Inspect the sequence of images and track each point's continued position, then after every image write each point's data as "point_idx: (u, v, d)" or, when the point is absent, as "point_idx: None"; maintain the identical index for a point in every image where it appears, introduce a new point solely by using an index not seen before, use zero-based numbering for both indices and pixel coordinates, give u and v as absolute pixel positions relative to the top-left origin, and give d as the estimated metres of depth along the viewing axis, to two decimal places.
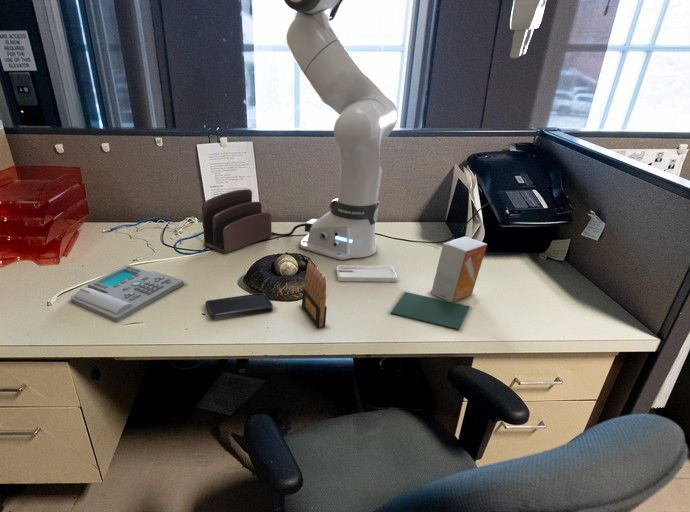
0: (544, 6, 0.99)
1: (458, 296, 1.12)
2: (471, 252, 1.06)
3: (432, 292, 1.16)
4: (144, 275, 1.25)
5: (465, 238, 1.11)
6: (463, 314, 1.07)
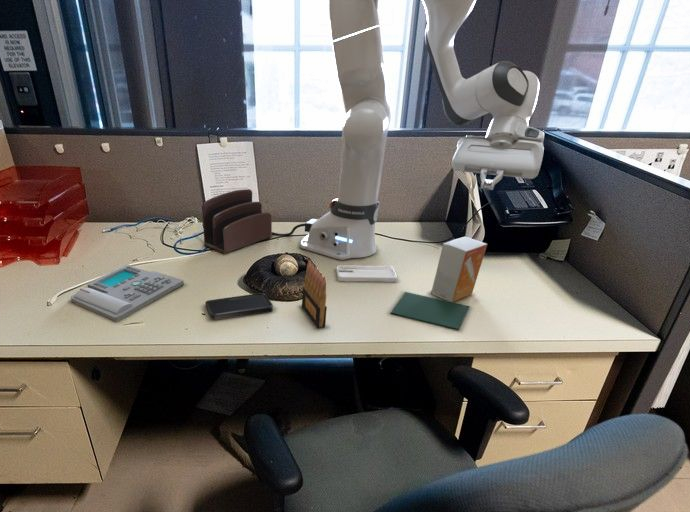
0: None
1: (458, 296, 1.12)
2: (471, 252, 1.06)
3: (432, 292, 1.16)
4: (144, 275, 1.25)
5: (465, 238, 1.11)
6: (463, 314, 1.07)
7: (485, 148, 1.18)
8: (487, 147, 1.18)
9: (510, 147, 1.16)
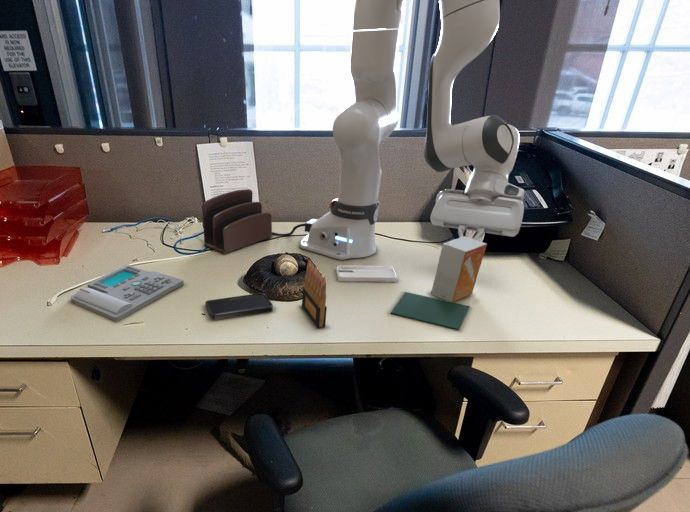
0: None
1: (458, 296, 1.12)
2: (471, 252, 1.06)
3: (432, 292, 1.16)
4: (144, 275, 1.25)
5: (465, 238, 1.11)
6: (463, 314, 1.07)
7: (464, 204, 1.14)
8: (466, 203, 1.14)
9: (490, 204, 1.12)
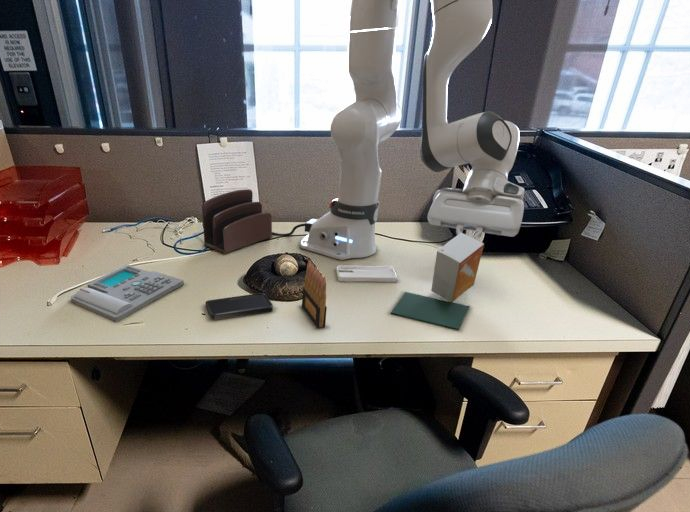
0: None
1: (458, 295, 1.12)
2: (466, 260, 1.03)
3: (432, 290, 1.15)
4: (144, 275, 1.25)
5: (461, 237, 1.06)
6: (463, 314, 1.07)
7: (462, 203, 1.10)
8: (464, 202, 1.10)
9: (488, 203, 1.08)
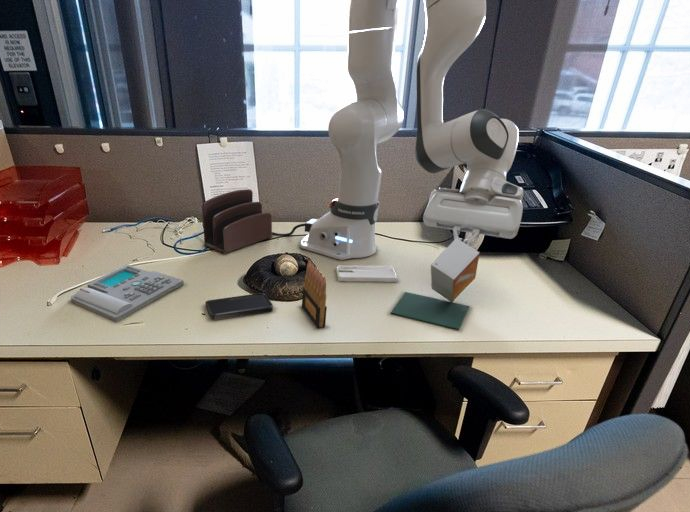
0: None
1: (458, 294, 1.11)
2: (460, 274, 1.01)
3: (432, 288, 1.15)
4: (144, 275, 1.25)
5: (456, 245, 1.02)
6: (463, 314, 1.07)
7: (459, 203, 1.07)
8: (461, 202, 1.07)
9: (486, 203, 1.04)
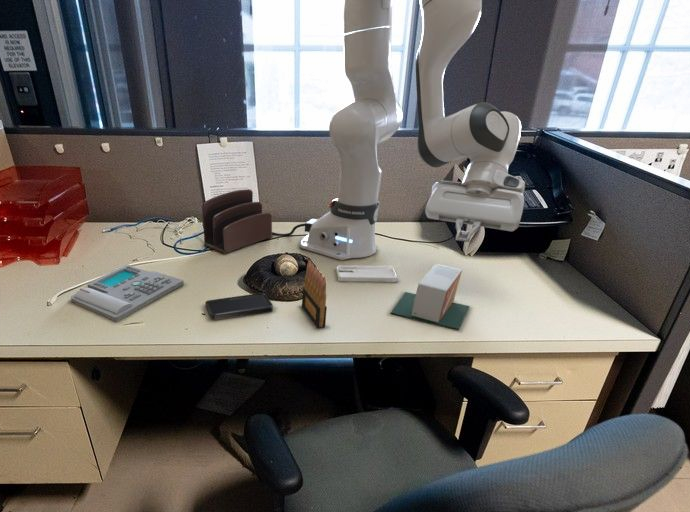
0: None
1: (454, 294, 1.11)
2: (441, 313, 1.03)
3: None
4: (144, 275, 1.25)
5: (422, 291, 1.03)
6: (463, 314, 1.07)
7: (461, 196, 1.08)
8: (463, 195, 1.08)
9: (488, 196, 1.05)
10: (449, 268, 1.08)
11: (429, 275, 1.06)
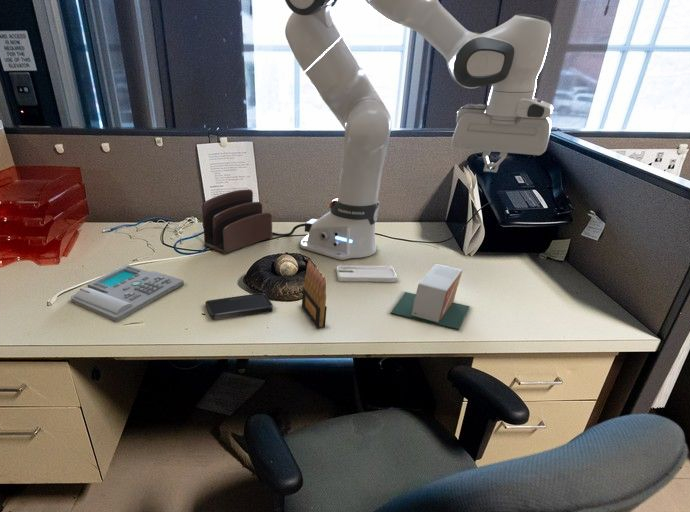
0: None
1: (454, 294, 1.11)
2: (441, 313, 1.03)
3: None
4: (144, 275, 1.25)
5: (423, 291, 1.03)
6: (463, 314, 1.07)
7: (486, 127, 1.08)
8: (487, 125, 1.07)
9: (513, 125, 1.05)
10: (449, 268, 1.08)
11: (429, 275, 1.06)
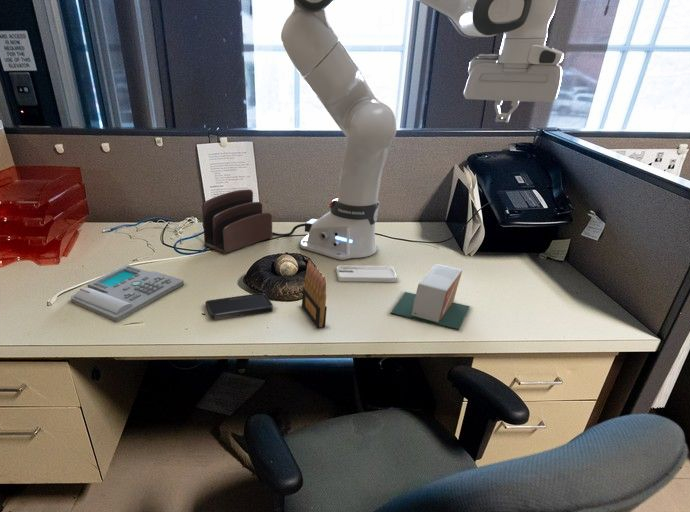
0: None
1: (454, 294, 1.11)
2: (441, 313, 1.03)
3: None
4: (144, 275, 1.25)
5: (423, 291, 1.03)
6: (463, 314, 1.07)
7: (498, 76, 1.10)
8: (499, 74, 1.10)
9: (525, 73, 1.08)
10: (449, 268, 1.08)
11: (429, 275, 1.06)
